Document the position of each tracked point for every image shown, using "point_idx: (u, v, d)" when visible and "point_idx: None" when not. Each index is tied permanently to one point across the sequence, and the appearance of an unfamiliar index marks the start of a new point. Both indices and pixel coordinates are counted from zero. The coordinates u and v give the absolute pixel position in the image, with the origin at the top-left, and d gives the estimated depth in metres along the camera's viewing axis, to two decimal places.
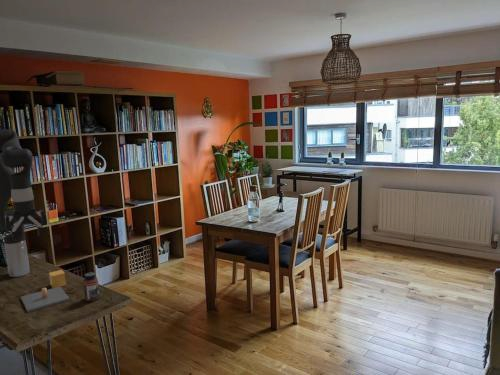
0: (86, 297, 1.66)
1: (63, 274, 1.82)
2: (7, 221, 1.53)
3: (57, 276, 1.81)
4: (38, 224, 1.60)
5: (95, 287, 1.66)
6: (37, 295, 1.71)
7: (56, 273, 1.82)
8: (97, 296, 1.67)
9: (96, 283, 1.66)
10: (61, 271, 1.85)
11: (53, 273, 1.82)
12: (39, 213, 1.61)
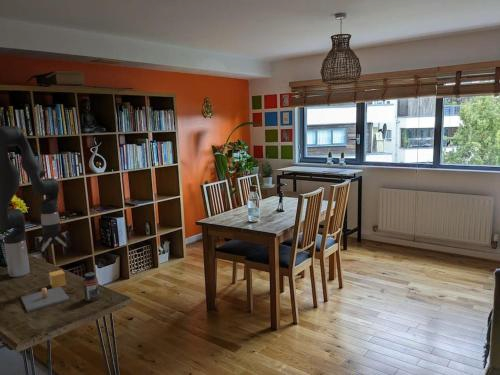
0: (86, 297, 1.66)
1: (63, 274, 1.82)
2: (37, 242, 1.75)
3: (57, 276, 1.81)
4: (63, 244, 1.82)
5: (95, 287, 1.66)
6: (37, 295, 1.71)
7: (56, 273, 1.82)
8: (97, 296, 1.67)
9: (96, 283, 1.66)
10: (61, 271, 1.85)
11: (53, 273, 1.82)
12: (64, 234, 1.83)
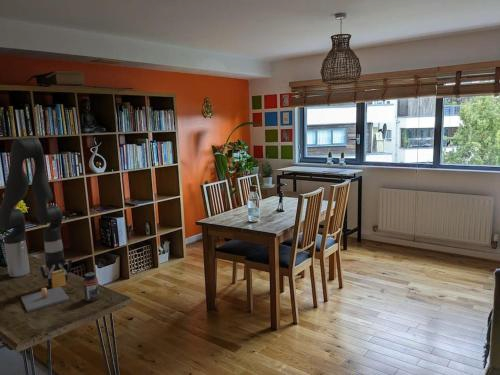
0: (86, 297, 1.66)
1: (63, 274, 1.82)
2: (42, 270, 1.78)
3: (57, 276, 1.81)
4: (64, 272, 1.84)
5: (95, 287, 1.66)
6: (37, 295, 1.71)
7: (56, 273, 1.82)
8: (97, 296, 1.67)
9: (96, 283, 1.66)
10: (61, 271, 1.85)
11: (53, 273, 1.82)
12: (67, 261, 1.85)
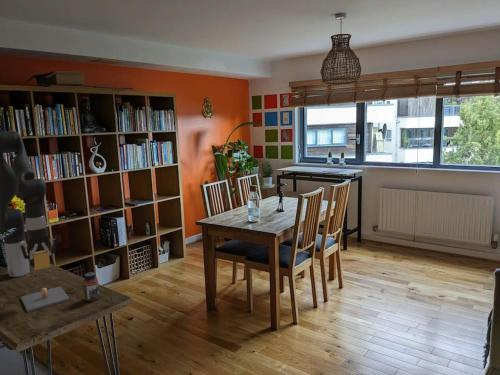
0: (86, 297, 1.66)
1: (47, 254, 1.65)
2: (23, 250, 1.60)
3: (40, 256, 1.63)
4: (48, 252, 1.67)
5: (95, 286, 1.66)
6: (37, 295, 1.71)
7: (39, 253, 1.65)
8: (97, 296, 1.67)
9: (96, 283, 1.66)
10: (45, 251, 1.67)
11: (35, 254, 1.65)
12: (52, 241, 1.68)
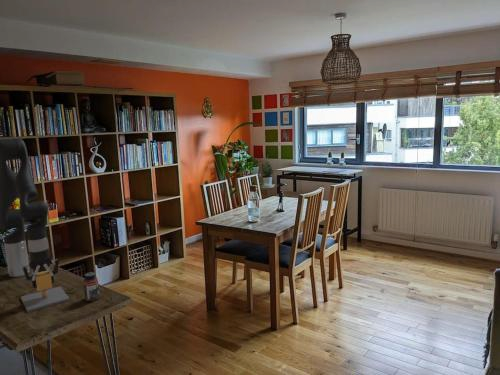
0: (86, 297, 1.66)
1: (49, 275, 1.66)
2: (25, 272, 1.62)
3: (42, 278, 1.65)
4: (50, 273, 1.68)
5: (95, 286, 1.66)
6: (37, 295, 1.71)
7: (41, 274, 1.66)
8: (97, 296, 1.67)
9: (96, 283, 1.66)
10: (47, 272, 1.69)
11: (37, 275, 1.66)
12: (54, 261, 1.69)
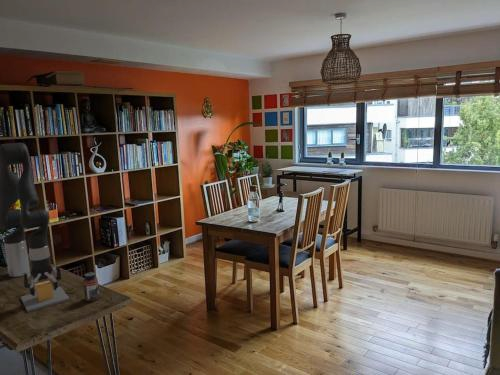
0: (86, 297, 1.66)
1: (50, 286, 1.67)
2: (25, 279, 1.62)
3: (43, 288, 1.66)
4: (54, 279, 1.69)
5: (95, 287, 1.66)
6: None
7: (42, 285, 1.67)
8: (97, 296, 1.67)
9: (96, 283, 1.66)
10: (48, 282, 1.69)
11: (39, 285, 1.67)
12: (55, 268, 1.70)
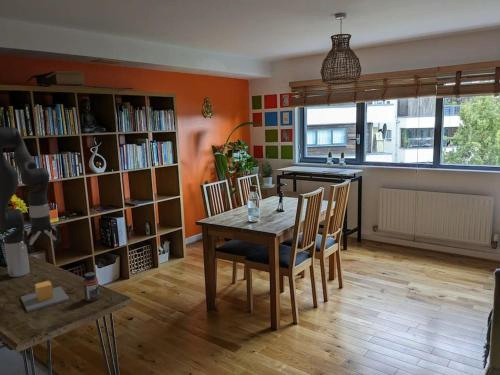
0: (86, 297, 1.66)
1: (50, 286, 1.67)
2: (25, 235, 1.65)
3: (43, 288, 1.66)
4: (53, 237, 1.72)
5: (95, 286, 1.66)
6: None
7: (42, 285, 1.67)
8: (97, 296, 1.67)
9: (96, 283, 1.66)
10: (48, 282, 1.69)
11: (39, 285, 1.67)
12: (54, 227, 1.72)
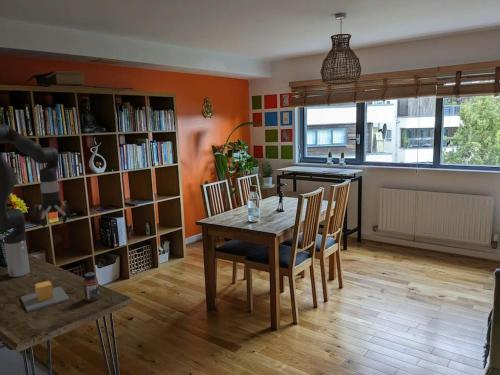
0: (86, 297, 1.66)
1: (50, 286, 1.67)
2: (37, 209, 1.77)
3: (43, 288, 1.66)
4: (63, 213, 1.84)
5: (95, 286, 1.66)
6: None
7: (42, 285, 1.67)
8: (97, 296, 1.67)
9: (96, 283, 1.66)
10: (48, 282, 1.69)
11: (39, 285, 1.67)
12: (64, 203, 1.85)
